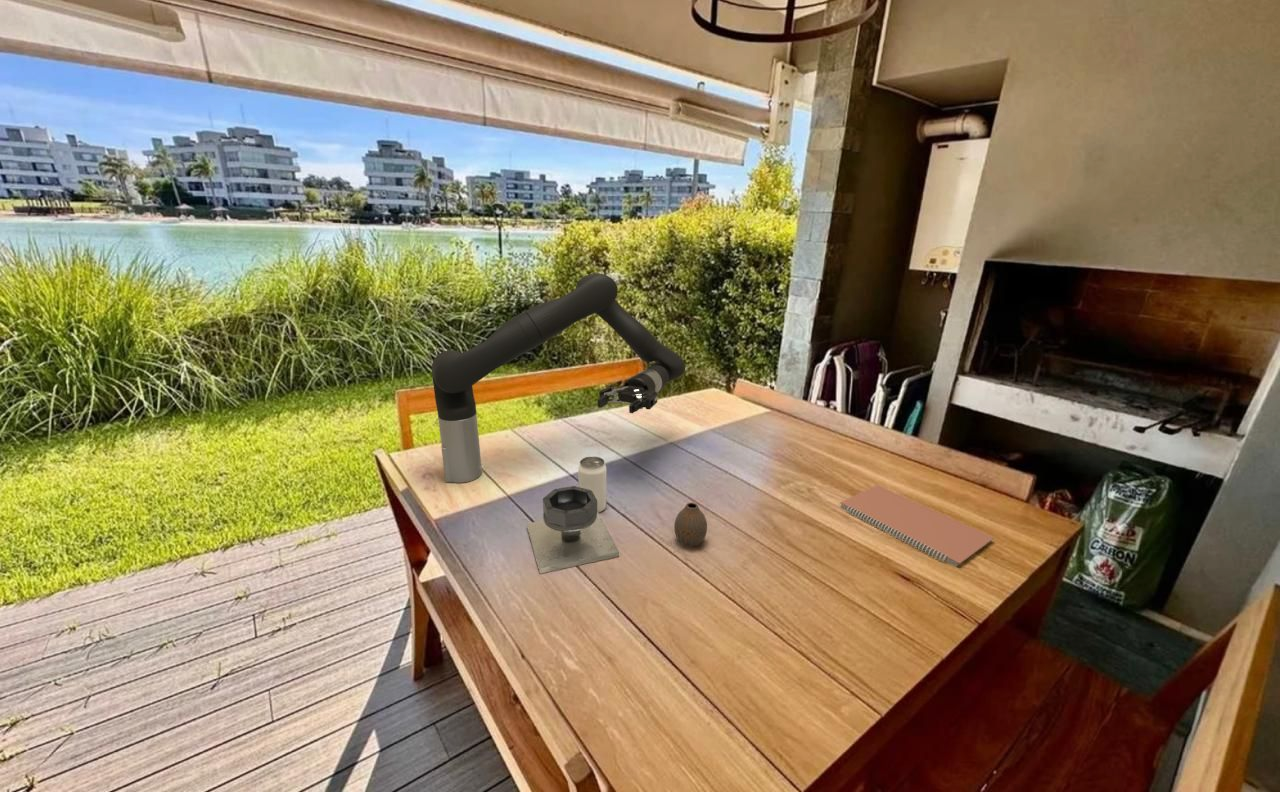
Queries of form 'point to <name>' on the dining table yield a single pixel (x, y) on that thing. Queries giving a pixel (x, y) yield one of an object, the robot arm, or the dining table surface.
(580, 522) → the cup bracket
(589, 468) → the can
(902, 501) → the notebook
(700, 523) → the vase
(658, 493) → the dining table surface
